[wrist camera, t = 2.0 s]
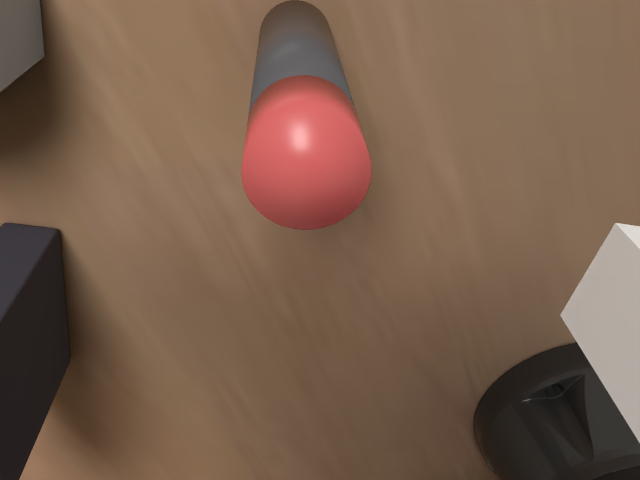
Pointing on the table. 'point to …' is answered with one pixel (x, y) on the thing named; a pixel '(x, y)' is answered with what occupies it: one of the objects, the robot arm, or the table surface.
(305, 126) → the marker
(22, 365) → the grey and red block
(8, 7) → the pen cup
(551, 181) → the table surface
